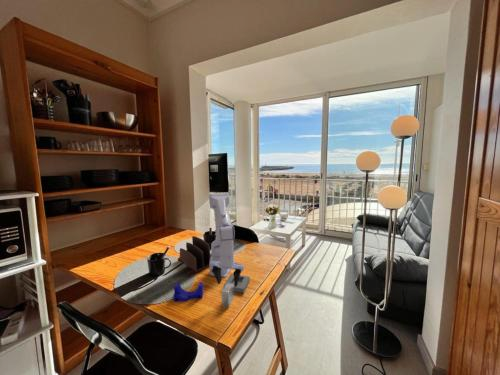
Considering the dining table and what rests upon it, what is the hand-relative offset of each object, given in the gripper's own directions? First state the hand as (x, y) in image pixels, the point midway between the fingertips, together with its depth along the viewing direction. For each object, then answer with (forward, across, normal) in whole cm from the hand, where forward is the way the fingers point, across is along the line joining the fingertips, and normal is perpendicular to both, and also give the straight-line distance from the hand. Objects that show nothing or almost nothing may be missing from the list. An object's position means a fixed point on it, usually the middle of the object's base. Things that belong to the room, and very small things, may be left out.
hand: (227, 284), depth 88 cm
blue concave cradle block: (+9, -18, -2) cm, 20 cm away
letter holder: (+9, -32, +28) cm, 43 cm away
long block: (+8, 0, 0) cm, 9 cm away
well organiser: (+8, 0, +12) cm, 15 cm away
